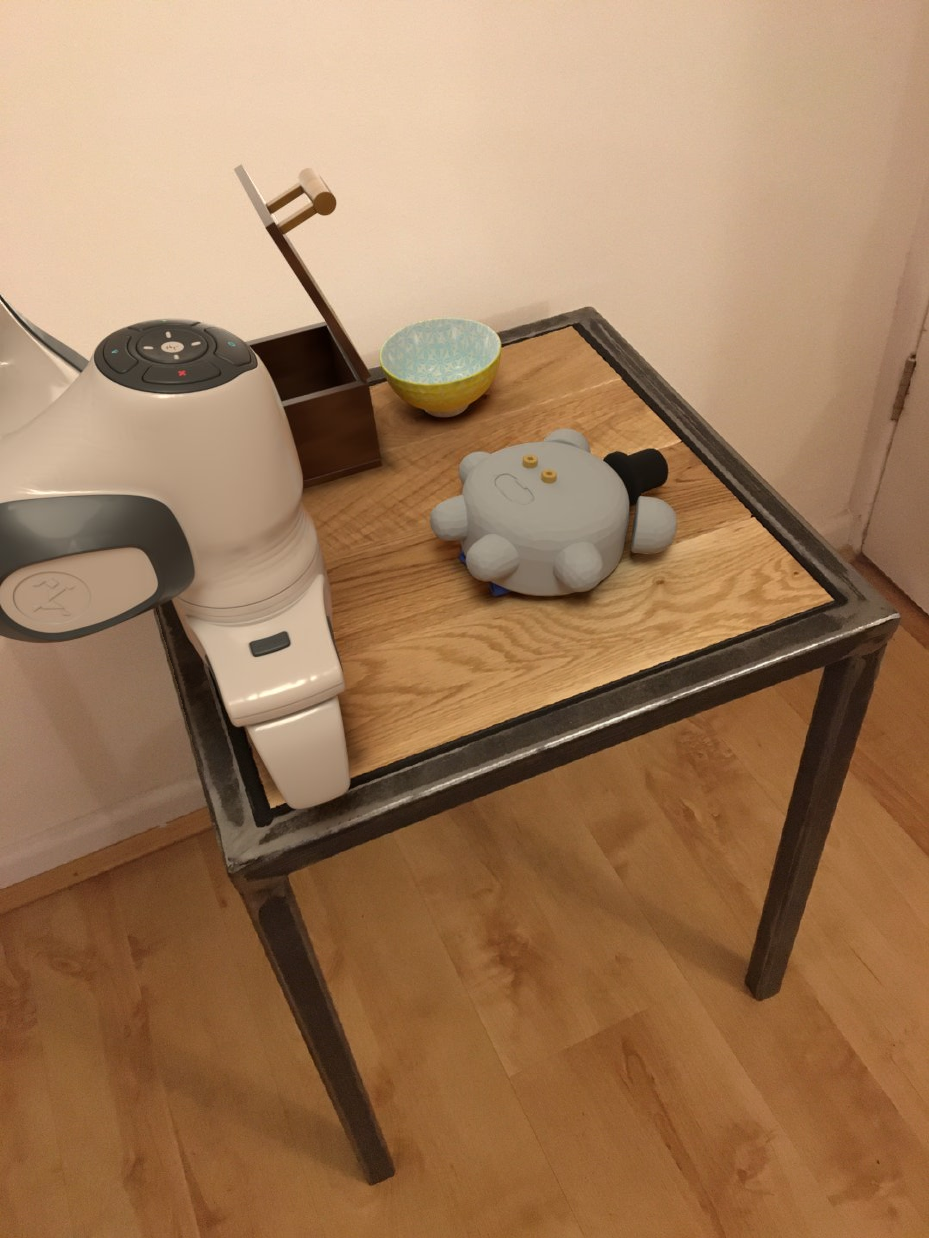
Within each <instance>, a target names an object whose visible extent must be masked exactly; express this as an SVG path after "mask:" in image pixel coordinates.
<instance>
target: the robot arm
mask: <svg viewBox="0 0 929 1238" xmlns="http://www.w3.org/2000/svg"><path fill="white" fill-rule="evenodd" d="M245 342H246V341H244V340H243V339H242V338H240V337H239V336H237V335H236V334H234V333H233V332H231V331H229V330H227V329H224V328H222V327H220V326H217V325H214V324H211V323H207V322H204V321H203V322H202V321H199V320H195V319H188V318H157V319H149V320H144V321H141V322H137V323H133V324H130V325H127V326H123V327H121V328H119V329H117V330H114V331H113V332H112V333H109V334H108V335H107V336H105V337H104V338H103V339H102V340H100V342H99V343H98V344H97V345H96V347H95V349H94V351H93V352H92V355H91V356H90V358H89V359H88V358H86V357H84V356H83V355H81V353H79V352H78V351H76V350H75V349H74V348H72V347H70V346H69V345H67V344H65V342H62V341H61V340H60V339H57V338H56V337H54V336H52V335H51V334H49V333H48V332H46V331H45V330H43V329H42V328H40V327H39V326H38V325H36V324H35V323H33V322H32V321H31V320H29V319H28V318H27V317H25V315H23V314H22V313H21V312H19V310H17V308H15V307H14V306H13V304H12V303H11V302H9V300H8V299H7V298H6V297H5V296H4V295H3V294H2V292H0V637H4V638H7V639H10V640H15V641H19V642H24V643H33V644H54V643H63V642H64V643H65V642H69V641H70V642H71V641H73V640H78V639H82V638H85V637H88V636H91V635H94V634H97V633H100V632H102V631H105V630H107V629H110V628H112V627H115V626H118V625H120V624H123V623H125V622H127V621H129V620H132V619H133V618H136V617H139V616H141V615H143V614H145V613H147V612H149V611H151V610H154V609H156V608H158V607H160V606H162V605H163V604H166V603H168V602H169V601H171V602H172V605H173V607H174V609H175V612H176V614H177V616H178V618H179V620H180V623H181V625H182V627H183V630H184V632H185V635H186V637H187V638H188V641H189V642H190V644H192V645H193V648H194V649H195V650H196V652H197V653H198V655H199V657H200V658H201V659H202V661H203V662H204V664H205V665H206V666H207V667H208V669H209V671H210V674H211V676H212V678H213V680H214V682H215V685H216V688H217V692H218V694H219V697H220V700H221V702H222V704H223V708H224V710H225V711H226V713H227V715H228V718H229V720H230V723H231V724H232V726H234V727H236V728H241V727H245V729H246V730H247V733H248V735H249V737H250V739H251V741H252V743H253V745H254V747H255V749H256V752H257V753H258V755H259V757H260V759H261V761H262V763H263V765H264V766H265V768H266V770H267V772H268V773H269V776H270V777H271V779H272V781H273V783H274V785H275V786H276V788H277V790H278V792H279V793H280V795H281V797H282V798H283V799H282V800H284V802H285V803H286V805H287V806H288V807H290V808H291V809H293V810H305V809H309V808H312V807H316V806H320V805H321V804H326V803H327V802H329V801H333V800H334V799H335V800H336V799H337V798H339V797H341V796H343V795H344V794H345V793H346V792H347V791H348V790H349V788H350V786H351V770H350V762H349V755H348V749H347V748H348V747H347V742H346V741H347V740H346V733H345V726H344V721H343V716H342V710H341V705H340V700H339V696H338V695H340V694H342V693H344V692H345V691H346V688H347V683H346V678H345V674H344V668H343V664H342V661H341V658H340V654H339V651H338V648H337V644H336V639H335V634H334V630H333V605H332V601H333V599H332V597H333V595H332V594H333V593H332V587H331V583H330V580H329V575H328V571H327V567H326V564H325V560H324V556H323V552H322V546H321V543H320V539H319V535H318V530H317V528H316V525H315V522H314V520H313V518H312V517H311V515H310V513H309V512H308V510H307V509H306V507H305V506H304V504H303V490H304V488H303V475H302V470H301V465H300V461H299V457H298V453H297V450H296V446H295V442H294V439H293V435H292V432H291V429H290V426H289V422H288V419H287V416H286V413H285V410H284V408H283V405H282V402H281V399H280V396H279V394H278V391H277V389H276V387H275V384H274V382H273V380H272V378H271V376H270V374H269V372H268V370H267V368H266V367H265V365H264V364H263V362H262V361H261V359H260V358H259V356H258V355H257V354H256V353H255V352H254V351H253V350H252V349H251V347H250V346H249V345H248V344H247V343H245Z"/></svg>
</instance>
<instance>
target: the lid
mask: <svg viewBox="0 0 929 1238" xmlns="http://www.w3.org/2000/svg"><path fill="white" fill-rule="evenodd" d="M233 172H234V173H235V175H236V177H237V179H238V181H239V183H240V184H241V186H242V188H243V190H244V192H245V194H246V196H247V197H248V199H249V201H250V202H251V203H250V204H251V205H252V207H253V208H254V210H255V212H256V214H257V215H258V218H259V219H260V221H261V223H262V225H263V227H264V228H265V230H266V231H267V234H268V235H269V236H270V238H271V239H272V241H273V242H274V245H276V247H277V249H278V250H279V252H280V253H281V256H282V257H283V258H284V259H285V261H286V263H287V264H288V266H289V268H290V269H291V270H292V273H294V275H295V276H296V278H297V280H298V281H299V283H300V284H301V286H302V287H303V289H304V291H305V292H306V293H307V295H308V297H309V299H310V300H311V301H312V303H313V304H314V306H315V307H316V309H317V311H318V312H319V314H320V315H321V317H322V318H323V320H324V322H325V321H326V323H327V325H328V326H329V328H330V329H331V331H332V332H333V334H334V335H335V337H336V338H337V340H338V342H339V343H340V345H341V346H342V348H343V349H344V351H345V352H346V354H347V356H348V357H349V359H350V360H351V362H352V363H353V365H354V366H355V368H356V369H357V371H358V373H359V374H360V376H361V377H362V379H363V380H364V381H365V380H367V379H370V378H371V377H372V373H371V372H370V370H369V368H368V367H367V365H366V363H365V361H364V360H363V358H362V357H361V354H360V353H359V351H358V350H357V348H356V346H355V344H354V342H353V340H352V339H351V337H350V335H349V334H348V332H347V331H346V328H345V327H344V325H343V323H342V322H341V319H340V318H339V316H338V315H337V313H336V311H335V309H334V307H332V305H331V304H330V302H329V300H328V298H327V297H326V295H325V294H324V292H323V291H322V289H321V288H320V286H319V284H318V283H317V281H316V280H315V278H314V276H313V274H312V273H311V271H310V270H309V268H308V267H307V265H306V264H305V262H304V261H303V259H302V258H301V255H300V254H299V253H298V251H297V250H296V248H295V246H294V245H293V243H292V241H291V240H290V238H289V237H288V234H287V233H289V232H291V231H292V230H294V229H296V228H297V227H298V226H300V225H301V224H303V223H305V222H306V221H307V220H309V219H311V218H312V217H314V216H315V215H317V214H318V215H320V216H324V217H325V216H330V215H331V214H333V212H334V211H335V210H336V208H337V198H336V196H335V195H334V193H333V192H332V191H331V189H330V188H329V186H328V185H327V184H326V181H324V179H323V178H322V176H321V175H320V174H319V172H318V170H316V169H315V168H312V167H305V168H304V169H302V170H301V171H300V172H299V173H298V175H297V182H296V183H295V184H293V185H292V186H291V187H289V188H288V189H286V190H285V191H283V192H282V193H281V192H280V194H278V195H277V196H275V197H274V198H272V199H271V200H269V201H266V200H265V199H264V197H263V195H262V194H261V193H260V190H259V189H258V188H257V186H256V184H255V183H254V181H253V180H252V178H251V176H250V175H249V173H248V171H247V170H246V168H245V167H244V165H243V164H242V163H241V164H239V165H237V166H236V167H235V168H233ZM302 195H304V196H305V198H306V199H307V201H308V202H309V203H307V204H305V205H304V206H302V207H301V208H300V209H298V210H296V211H295V212H294V213H291V214H290V215H288V216H287V217H286V218H284V219H283V220H281V221H278V219H277V218H276V216H275V213H276V212H278V211H279V210H281V209H283V208H284V207H285V206H287V205H289V204H290V203H291V202H293V201H295V200H296V199H297V198H299V197H301V196H302Z"/></svg>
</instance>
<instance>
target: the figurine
mask: <svg viewBox="0 0 929 1238" xmlns="http://www.w3.org/2000/svg"><path fill="white" fill-rule="evenodd" d="M668 477H669V466H668V462H667V459H666V458H665V456H664V455H663V453H662V452H661V451H660V450H658V449H656V448H651V447H650V448H649V447H647V448H645V449H642V450H639V451H637V452H634V453H631V454H627V453H626V452H624V451H620V450H616V451H613V452H612V451H611V452H609V453H608V454H606V455H605V456H604V457H603V459H601V458H600V457H598V456H596V455H594V454H592V452H591V446H590V443H589V441H588V439H587V437H585V435H583V434H582V433H581V432H579V431H578V430H575V429H572V428H566V427H565V428H557V429H555V430H553V431H551V432H550V433H549V434H547V435H546V436H545V437H544V438H543V440H542V441H533V442H524V443H519V444H515V445H511V446H506V447H504V448H502V449H498V450H497V451H493V452H492V453H490V452H487V451H482V450H481V451H478V450H477V451H473V452H471V453H469V454H467V455H465V456H464V458H463V459H462V460H461V461H460V464H459V467H458V478H459V480H460V483H461V484H462V491H461V494H459V495H456V496H453V497H449V498H446V499H445V500H443V501H441V502H439V503H437V505H435V506H434V507H433V508H432V509H431V511H430V514H429V524H430V529H431V530H432V532H433V534H434V536H435V537H437V538H438V539H439V540H441V541H444V542H456V541H457V542H458V541H460V546H461V549H462V550H461V551H460V552H459V555H458V556H459V559H460V561H461V562H462V563H463V564H465V565H466V568H467V571H468V572H469V574H470V575H471V576H472V577H473V578H474V579H476V580H479V581H482V582H488V585H489V588H490V591H491V594H492V595H493V596H494V597H498V596H503V595H505V594H508V593H511V592H515V593H518V594H522V595H528V596H535V597H536V596H537V597H556V596H566V595H570V594H574V593H585V592H589V591H591V590H593V589H594V588H596V586H598V584H600V582H601V581H604V580H605V579H606V578H608V576H609V575H611V574H612V573H613V572H614V570H615V569H616V568H617V566H618V565H619V563H620V561H621V559H622V556H623V553H624V549H625V542H626V537H627V532H628V525H629V519H630V507H634V506H635V510H634V516H633V521H632V531H631V543H630V549H631V552H632V553H634V554H643V555H652V554H657V553H660V552H662V551H664V550H666V549H668V548H669V546H671V545H672V543H673V542H674V541H675V538H676V535H677V531H678V517H677V514H676V511H675V510H674V509H673V507H672V506H671V505H670V504H668V503H667V502H666V501H665V500H662V499H661V498H657V497H654V496H653V497H652V496H643V495H642V494H645V493H647V492H649V491H652V490H655V489H657V488H660V487H662V486H663V485H664V484H666V483H667V480H668Z"/></svg>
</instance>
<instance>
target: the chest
mask: <svg viewBox="0 0 929 1238" xmlns="http://www.w3.org/2000/svg"><path fill="white" fill-rule="evenodd" d="M244 342H245V343H247V344H248V345H249V346H250V347H251V349H252V350H253V351H254V352H255V353H256V354H257V355H258V356H259V358H260V359H261V361H262V362H263V364H264V365H265V367H266V368H267V370H268V372H269V374H270V376H271V378H272V380H273V382H274V384H275V387H276V389H277V391H278V394H279V396H280V399H281V402H282V405H283V408H284V410H285V413H286V416H287V419H288V422H289V426H290V429H291V432H292V435H293V439H294V442H295V446H296V450H297V453H298V457H299V461H300V465H301V470H302V475H303V489H307V488H309V487H312V486H316V485H317V486H318V485H320V484H323V483H327V482H330V481H333V480H337V479H341V478H344V477H347V476H350V475H351V476H352V475H355V474H358V473H361V472H365V471H369V470H371V469H372V470H373V469H376V468H379V467H382V466H383V461H382V455H381V449H380V443H379V437H378V430H377V425H376V419H375V413H374V412H375V411H374V406H373V403H372V402H373V401H372V395H371V389H370V383H369V382H368V380H367V379H366V380H365V381H364V380H363V379H362V377H361V376H360V374H359V373H358V371H357V369H356V368H355V366H354V365H353V363H352V362H351V360H350V359H349V357H348V356H347V354H346V352H345V351H344V349H343V348H342V346H341V345H340V343H339V342H338V340H337V338H336V337H335V335H334V334H333V332H332V331H331V329H330V328H329V326H328V325H327V323H326V321H325V320H324V321H320V322H317V323H313V324H309V325H306V326H301V327H298V328H294V329H290V330H286V331H282V332H278V333H274V334H271V335H266V336H262V337H259V338H255V339H251V340H246V341H244Z"/></svg>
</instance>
